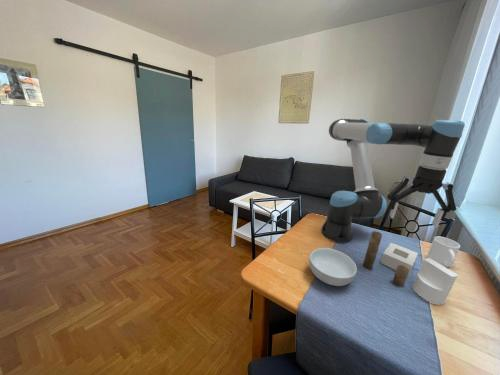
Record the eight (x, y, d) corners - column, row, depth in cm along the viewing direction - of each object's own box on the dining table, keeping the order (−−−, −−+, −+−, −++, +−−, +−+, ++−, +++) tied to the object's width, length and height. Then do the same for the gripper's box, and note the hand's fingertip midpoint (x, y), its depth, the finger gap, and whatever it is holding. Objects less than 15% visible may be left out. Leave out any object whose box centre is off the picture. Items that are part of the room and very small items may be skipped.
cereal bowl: (330, 300, 68) (334, 284, 66) (298, 268, 82) (300, 254, 80) (362, 283, 76) (367, 268, 73) (328, 257, 90) (331, 243, 87)
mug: (460, 276, 82) (470, 255, 78) (435, 270, 84) (444, 249, 81) (445, 258, 92) (453, 238, 89) (423, 253, 95) (430, 234, 91)
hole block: (380, 262, 87) (383, 253, 86) (388, 251, 95) (391, 242, 93) (408, 276, 81) (412, 265, 79) (414, 262, 88) (418, 253, 87)
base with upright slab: (451, 301, 70) (465, 273, 66) (432, 307, 67) (446, 278, 63) (423, 281, 78) (434, 256, 74) (406, 286, 75) (416, 260, 71)
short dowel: (391, 283, 77) (396, 268, 74) (393, 278, 79) (398, 263, 77) (402, 288, 74) (407, 273, 72) (404, 283, 77) (410, 268, 74)
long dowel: (361, 266, 85) (370, 233, 79) (364, 262, 87) (373, 230, 82) (370, 270, 82) (380, 237, 77) (373, 267, 85) (383, 234, 79)
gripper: (392, 164, 71) (376, 217, 79) (487, 175, 62) (459, 234, 70) (388, 160, 77) (374, 209, 85) (474, 170, 68) (449, 224, 76)
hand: (412, 221), depth 77 cm, fingers open, 13 cm apart
